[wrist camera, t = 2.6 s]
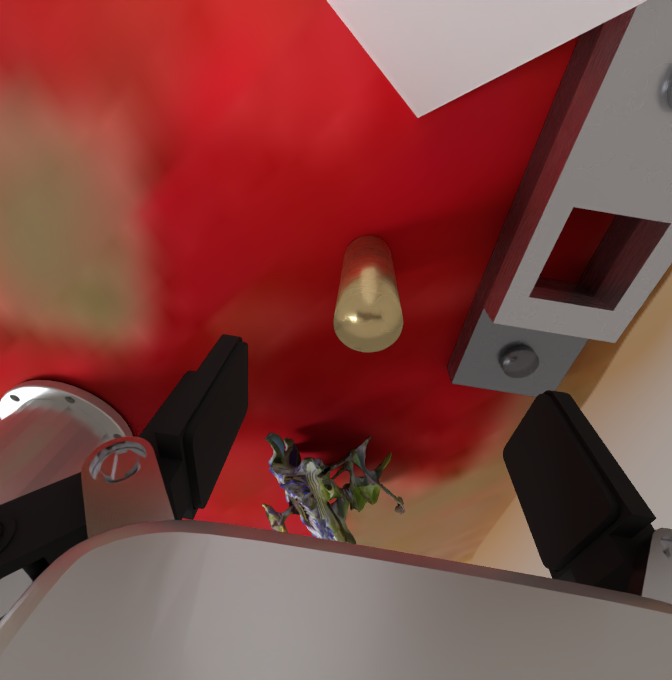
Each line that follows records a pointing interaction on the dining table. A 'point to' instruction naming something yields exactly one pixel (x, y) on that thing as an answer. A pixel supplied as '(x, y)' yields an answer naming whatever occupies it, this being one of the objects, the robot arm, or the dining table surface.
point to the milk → (464, 39)
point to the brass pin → (368, 297)
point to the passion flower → (323, 489)
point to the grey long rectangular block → (587, 193)
